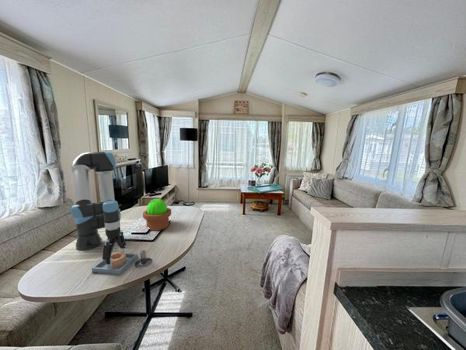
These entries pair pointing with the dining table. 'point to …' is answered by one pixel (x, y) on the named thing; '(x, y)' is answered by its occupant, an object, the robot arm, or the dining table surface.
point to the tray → (102, 268)
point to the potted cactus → (157, 214)
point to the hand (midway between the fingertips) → (116, 263)
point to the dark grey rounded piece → (143, 260)
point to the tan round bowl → (118, 259)
